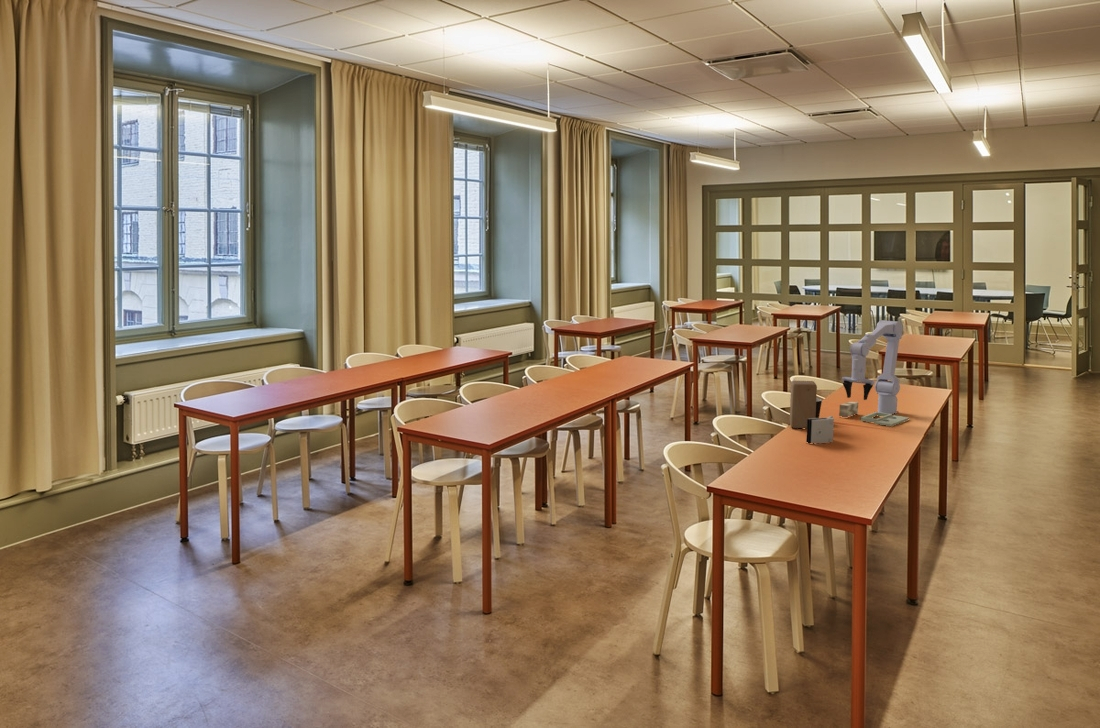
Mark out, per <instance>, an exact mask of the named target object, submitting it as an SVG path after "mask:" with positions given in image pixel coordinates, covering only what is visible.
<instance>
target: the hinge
mask: <svg viewBox="0 0 1100 728" xmlns="http://www.w3.org/2000/svg"><path fill="white" fill-rule="evenodd" d="M834 421H835V418H834V416H833V415H829V416H828V417H819V418H811V419H807V429H806V438H805V439H806V442H808V443H828V442H834V441H833V440H834V427H835V426H834V424H835V422H834ZM828 444H829V443H828Z"/></svg>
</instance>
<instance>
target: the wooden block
mask: <svg viewBox="0 0 1100 728" xmlns="http://www.w3.org/2000/svg"><path fill="white" fill-rule="evenodd" d="M817 393H818V387H817V384H816V382H815V381H813V380H791V382H790V398H789V399H790V401H789V402H790V404H789V405H790V406H789V425H790V427H791V428H792V427H793V428H805V429H804V430H807V419H811V418H815V417H816V398H817ZM793 428H792V429H793Z"/></svg>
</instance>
